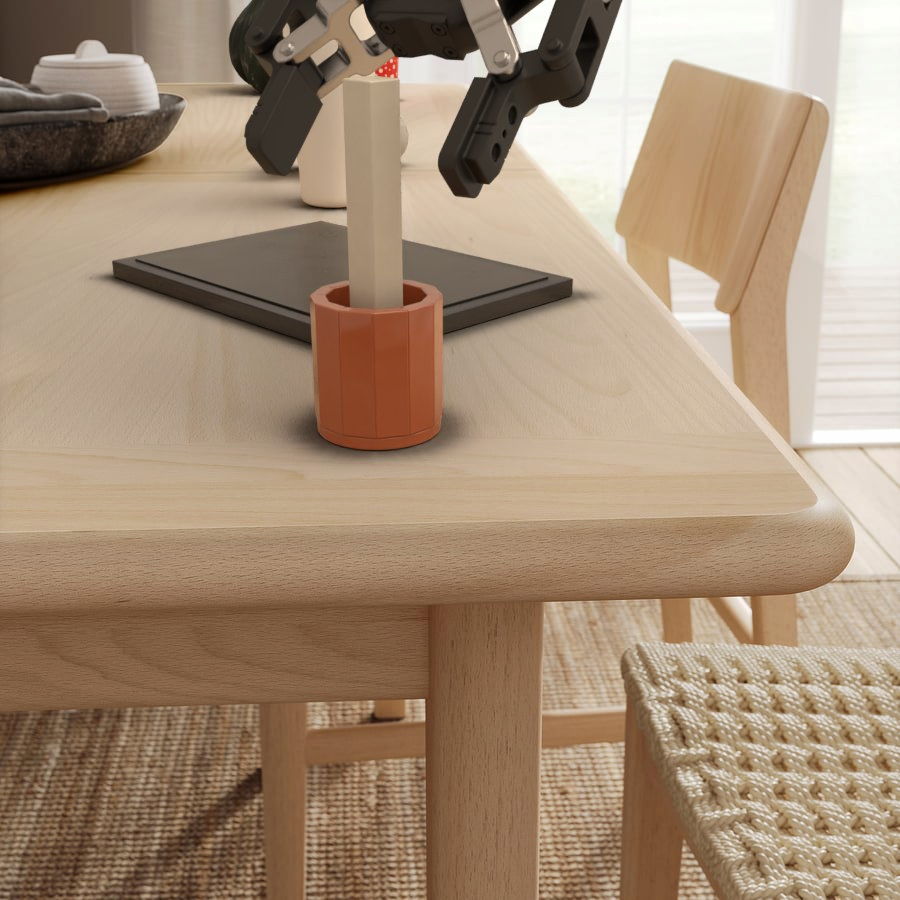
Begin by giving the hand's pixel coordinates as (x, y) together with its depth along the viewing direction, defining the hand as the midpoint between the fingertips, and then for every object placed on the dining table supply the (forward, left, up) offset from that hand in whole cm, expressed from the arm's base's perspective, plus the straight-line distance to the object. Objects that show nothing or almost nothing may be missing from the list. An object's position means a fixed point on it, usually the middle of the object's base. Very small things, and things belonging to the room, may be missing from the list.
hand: (355, 173), depth 42 cm
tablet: (-18, +14, -10) cm, 25 cm away
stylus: (0, +1, -10) cm, 10 cm away
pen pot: (0, +1, -10) cm, 10 cm away
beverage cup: (-86, +79, -10) cm, 118 cm away
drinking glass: (-37, +30, -10) cm, 49 cm away
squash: (-104, +77, -10) cm, 130 cm away
